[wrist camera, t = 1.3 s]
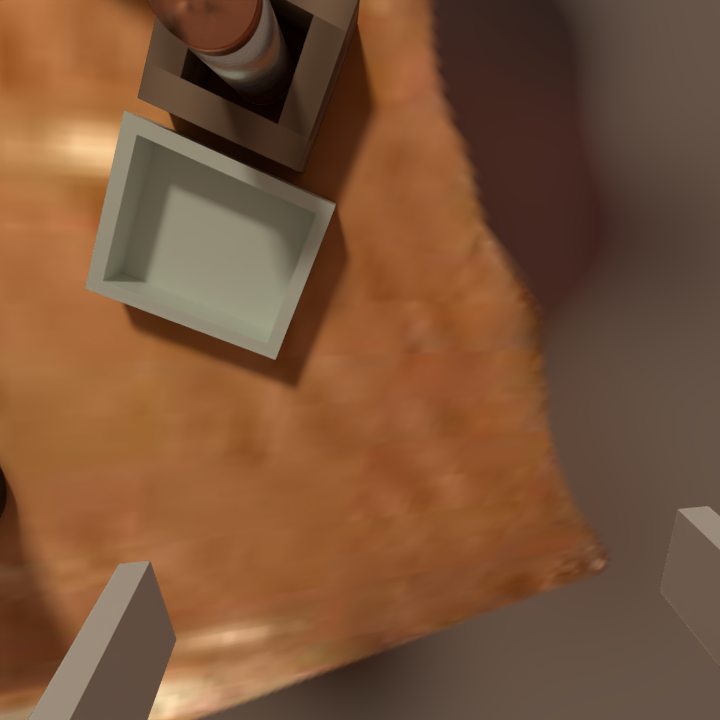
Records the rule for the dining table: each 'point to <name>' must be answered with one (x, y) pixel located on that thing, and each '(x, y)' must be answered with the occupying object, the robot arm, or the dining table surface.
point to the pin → (233, 43)
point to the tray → (204, 237)
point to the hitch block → (275, 141)
